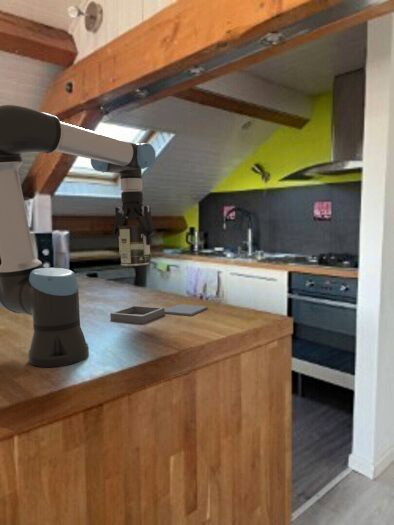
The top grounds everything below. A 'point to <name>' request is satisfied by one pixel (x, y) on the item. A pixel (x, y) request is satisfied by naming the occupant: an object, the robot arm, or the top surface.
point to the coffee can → (132, 246)
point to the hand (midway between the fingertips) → (134, 254)
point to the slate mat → (185, 309)
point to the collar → (128, 317)
